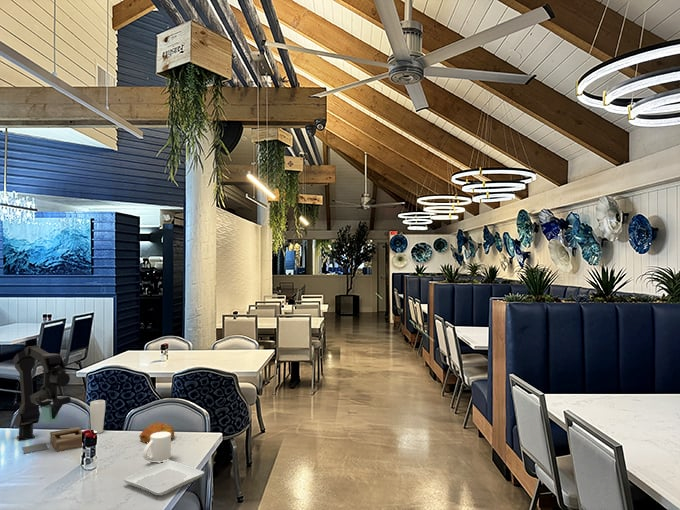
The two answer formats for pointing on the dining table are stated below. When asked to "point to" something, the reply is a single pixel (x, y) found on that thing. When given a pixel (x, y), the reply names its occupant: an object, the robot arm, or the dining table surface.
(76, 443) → the crate
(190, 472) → the salad plate
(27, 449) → the mat
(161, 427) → the croissant
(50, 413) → the block
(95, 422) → the drinking glass
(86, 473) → the dining table surface
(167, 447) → the mug
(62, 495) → the dining table surface
